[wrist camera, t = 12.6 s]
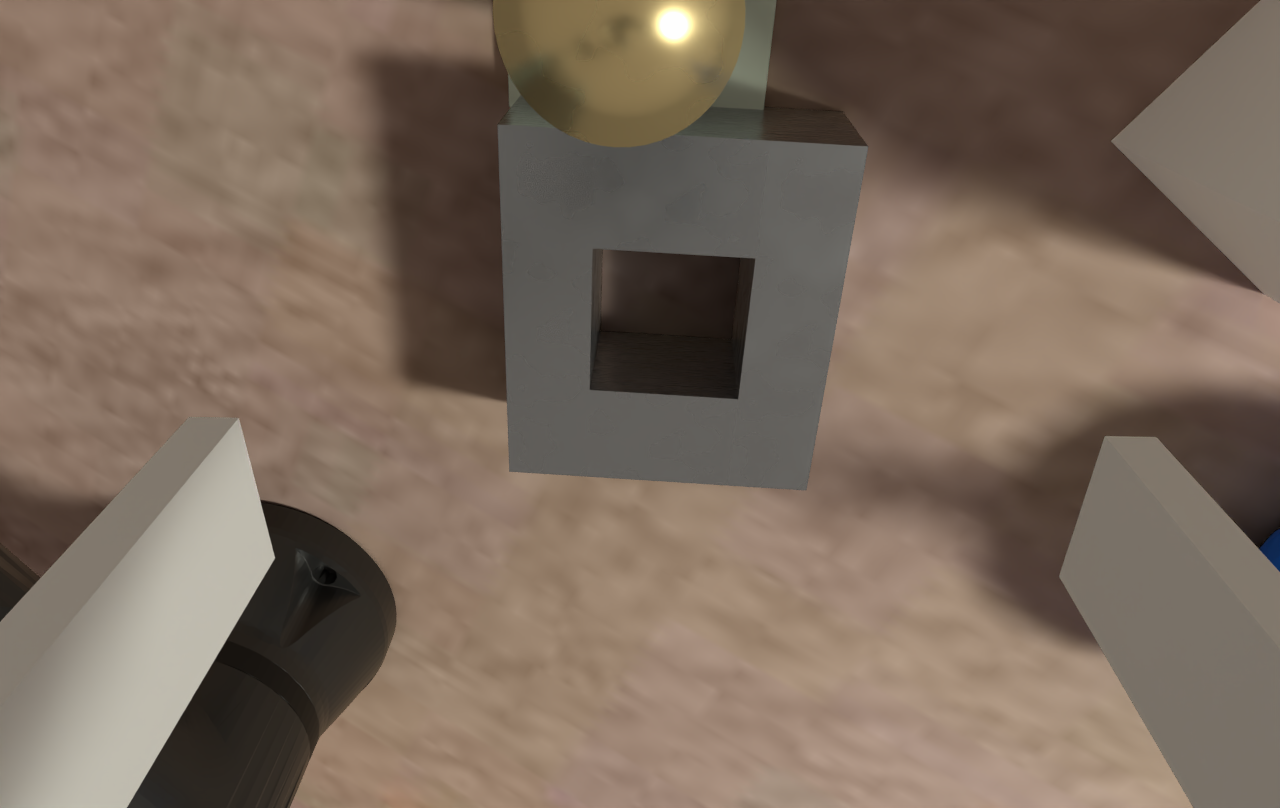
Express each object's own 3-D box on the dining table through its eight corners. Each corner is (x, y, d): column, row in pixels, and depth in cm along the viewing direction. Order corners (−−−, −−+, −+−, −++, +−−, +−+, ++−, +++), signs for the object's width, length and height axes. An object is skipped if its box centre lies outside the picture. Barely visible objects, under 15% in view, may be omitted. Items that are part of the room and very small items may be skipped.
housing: (528, 406, 46) (509, 471, 41) (522, 92, 38) (497, 124, 33) (792, 423, 46) (806, 490, 41) (842, 111, 38) (868, 146, 33)
